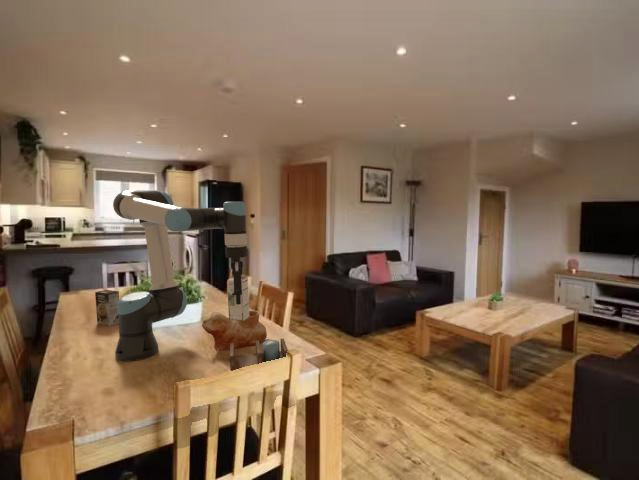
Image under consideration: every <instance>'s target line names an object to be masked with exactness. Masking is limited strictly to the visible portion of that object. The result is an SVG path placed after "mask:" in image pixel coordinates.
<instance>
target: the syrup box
mask: <svg viewBox="0 0 639 480" xmlns="http://www.w3.org/2000/svg"><path fill="white" fill-rule="evenodd" d="M248 279H249V277H241V290H242V303H243V313H236V314H235V306H234V295H232V293H234V276H232V277H231V278H229V279H227V281H226V285H227V287H226V288H227V305H228V308H227V309H228V318H229V320H238V321H244V320H245V319H247V318H248V317H249V311H250V303H249V280H248ZM236 291H240V290H236Z"/></svg>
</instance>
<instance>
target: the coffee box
mask: <svg viewBox="0 0 639 480" xmlns="http://www.w3.org/2000/svg"><path fill="white" fill-rule="evenodd" d="M94 295H95V297H94V298H95V308H96V323H97V324H98V325H103V326H109V327H110V326H113V325H117V324H119V323H118V313H117V310H118V301H119V300H120V291H119V290H110V289H104V290H99V291H95V292H94Z"/></svg>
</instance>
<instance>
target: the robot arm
mask: <svg viewBox="0 0 639 480" xmlns="http://www.w3.org/2000/svg"><path fill="white" fill-rule="evenodd" d="M112 203H113V204H112V207H113V208H112V209H113V210H114V212H115V214H116V215H117V216H118V217H120V218H123V219H125V220H131V221H133V220H138V221H139V225H141V227H143V228H144V233H145V234H144V235H145V241H146V249H147V254H148V262H149V263H148V264H149V269H150V277H151V282H152V285H151V286H150V287H149V289H148V291H149V292H148V291H138V292H132V293H129V294H126V295H124V296H122V297H121V298H119V301H118V310H117V313H118V323H117V324H118V331H119V332H118V333H119V335H118V336H119V338H118V341H117V344H116V347H115V351H114V354H115V359H116V360H118V361H121V362H133V361H134V362H135V361H139V360H140V361H141V360H144V359H147V358H150V357H152V356H154V355H156V354H157V353H158V352H159V343H158V341H157V339H156V336H155V334H154V331H153V324H155V323H157V322H161V321H163V320H164V321H165V320H168V319H172V318H175V317H178V316H180V315H182V314H183V313H184V312H185V310H186V308H187V305H188V297H187V293H186V292H185V290H184V288H181V287H180V285H179V283H177V282H176V281H175V276H174V269H173V268H174V267H173V262H172V254H171V248H170V239H169V234H168V232H169V231H170V232H180V233H182V232H186V231H187V232H188V231H201V230H202V231H203V230H214V229H215V230H216V229H220V230H224V245H225V248H224V249H225V250H224V251H225V258H228V259H233V261H231V266H230V267H231V273H232V274H231V275H232V277H234V293H232V295H234V306H235V314H236V313H243V303H242V290H241V278H242V276H243V267H244V264H243V263H244V262H243V261H242V260H241V258H246V257H248V256H249V255H248V246H247V244H248V239H249V235H247V210H246V204H245V202H244V201H224V202H223V207H196V208H193V207H192V208H190V207H182V206H177V205H175V204H174V201H173V198H172V197H171V196H170V194H168V193H167V192H165V191H163V190H162V191H161V190H140V189H139V190H137V189H135V190H134V189H129V190H124V191H121V192H120V193H118V194H117V195H116V196H115V197H114V200H113V202H112ZM168 230H169V231H168ZM236 290H240V291H236Z"/></svg>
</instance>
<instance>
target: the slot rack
mask: <svg viewBox="0 0 639 480" xmlns="http://www.w3.org/2000/svg"><path fill="white" fill-rule="evenodd" d="M287 351H288V352H289V349H288V347H287V344H286V341H285V339H284V338H280V358H283V357H286V353H287ZM262 362H266V361H264V360H263V352H262V350H261V343H259V341H256V345H255V353H250V354H243V355H242V354H241V355H235V349H234V343H230V349H229V365H230V368H229V369H230V371H236V370H235V369H239V368H242V367H245V366H250V365H254V364H259V363H262ZM239 370H240V369H239Z"/></svg>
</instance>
